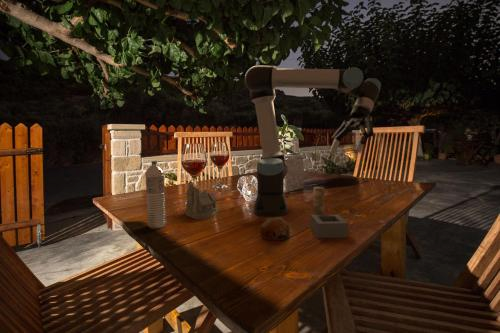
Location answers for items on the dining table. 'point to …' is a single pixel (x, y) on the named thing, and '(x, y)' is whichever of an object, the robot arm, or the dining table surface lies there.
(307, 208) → the dining table surface
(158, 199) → the water bottle
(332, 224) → the socket
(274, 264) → the dining table surface
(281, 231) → the bread roll
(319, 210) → the dowel
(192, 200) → the ceramic cottage
